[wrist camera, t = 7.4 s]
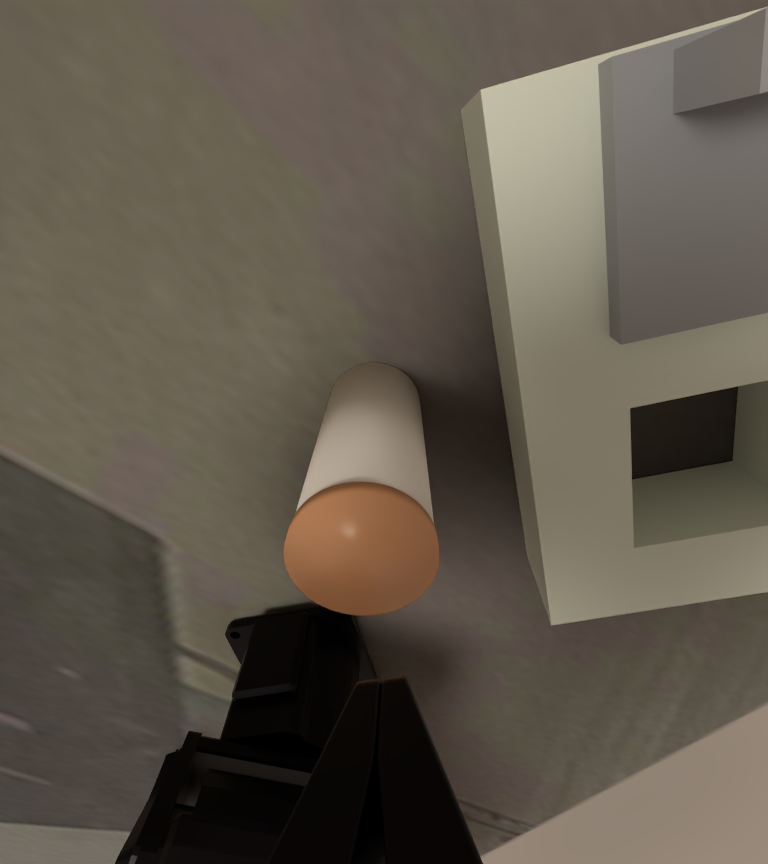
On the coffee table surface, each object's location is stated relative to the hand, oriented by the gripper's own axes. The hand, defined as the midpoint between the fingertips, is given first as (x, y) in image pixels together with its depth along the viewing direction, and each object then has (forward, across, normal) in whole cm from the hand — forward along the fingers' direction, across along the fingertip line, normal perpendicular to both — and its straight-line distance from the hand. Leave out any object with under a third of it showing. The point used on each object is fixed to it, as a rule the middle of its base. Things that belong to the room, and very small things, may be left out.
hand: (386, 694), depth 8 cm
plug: (+13, +1, 0) cm, 13 cm away
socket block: (+13, -10, -1) cm, 16 cm away
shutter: (+9, -10, -6) cm, 15 cm away
